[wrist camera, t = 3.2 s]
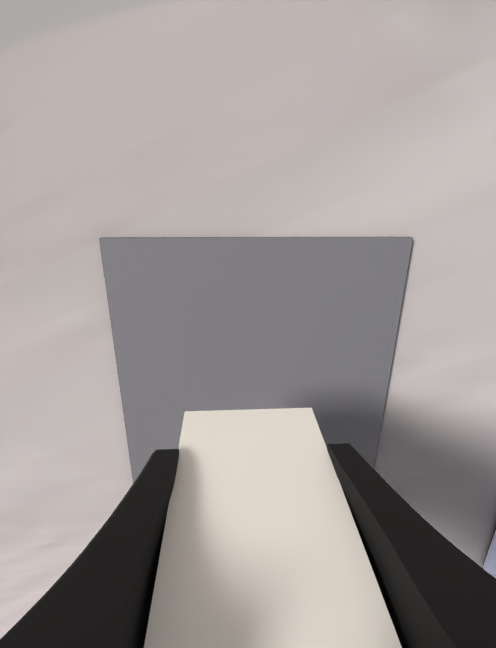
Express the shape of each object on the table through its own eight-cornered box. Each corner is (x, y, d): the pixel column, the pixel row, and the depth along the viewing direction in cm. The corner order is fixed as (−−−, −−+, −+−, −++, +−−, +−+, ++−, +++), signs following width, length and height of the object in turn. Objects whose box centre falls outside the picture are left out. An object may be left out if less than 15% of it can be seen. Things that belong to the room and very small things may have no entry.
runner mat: (409, 236, 17) (412, 238, 17) (346, 620, 28) (347, 624, 27) (101, 237, 16) (99, 238, 16) (155, 632, 27) (154, 637, 26)
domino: (311, 407, 12) (418, 690, 5) (308, 448, 12) (400, 748, 6) (184, 411, 12) (132, 711, 5) (187, 452, 12) (144, 769, 6)
